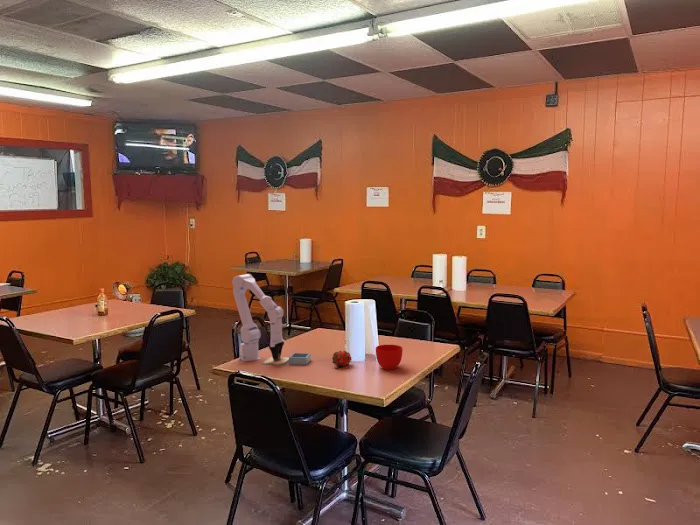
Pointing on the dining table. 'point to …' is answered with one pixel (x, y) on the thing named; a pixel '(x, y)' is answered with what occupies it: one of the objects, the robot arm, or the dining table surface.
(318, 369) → the dining table surface
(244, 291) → the robot arm
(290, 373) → the dining table surface
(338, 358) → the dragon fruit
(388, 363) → the ceramic cup
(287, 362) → the mat
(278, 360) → the lid
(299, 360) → the dish
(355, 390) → the dining table surface
